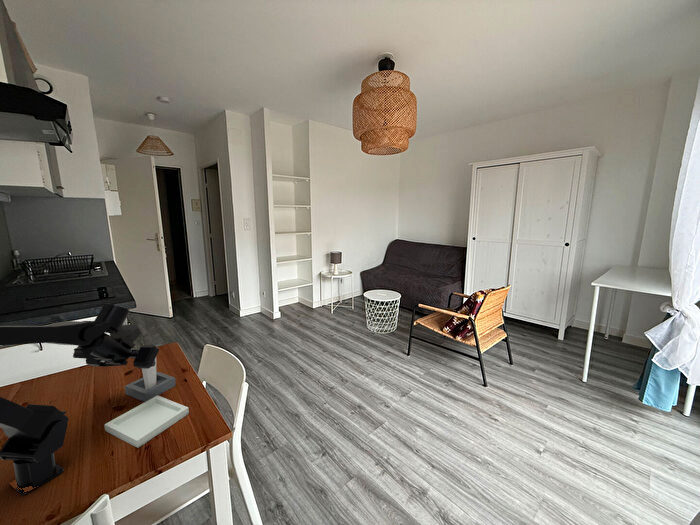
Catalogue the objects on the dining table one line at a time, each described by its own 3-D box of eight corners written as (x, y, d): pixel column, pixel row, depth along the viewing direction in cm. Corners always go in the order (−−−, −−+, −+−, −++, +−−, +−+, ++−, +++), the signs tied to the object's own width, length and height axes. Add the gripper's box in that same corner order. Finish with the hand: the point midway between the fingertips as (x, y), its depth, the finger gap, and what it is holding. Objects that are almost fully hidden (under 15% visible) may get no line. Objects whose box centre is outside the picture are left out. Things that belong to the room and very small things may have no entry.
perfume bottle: (157, 384, 97) (153, 343, 95) (161, 389, 94) (158, 347, 92) (141, 390, 93) (137, 348, 91) (145, 395, 90) (141, 352, 88)
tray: (188, 413, 82) (188, 407, 82) (137, 447, 70) (137, 440, 69) (157, 401, 88) (157, 395, 88) (105, 431, 75) (104, 424, 75)
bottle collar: (175, 385, 96) (175, 377, 96) (145, 402, 87) (144, 393, 87) (156, 378, 100) (156, 371, 100) (125, 394, 91) (124, 385, 90)
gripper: (151, 321, 81) (179, 340, 93) (90, 318, 81) (125, 338, 94) (132, 359, 74) (164, 375, 86) (65, 356, 75) (107, 372, 87)
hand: (140, 364), depth 89 cm, fingers open, 9 cm apart
